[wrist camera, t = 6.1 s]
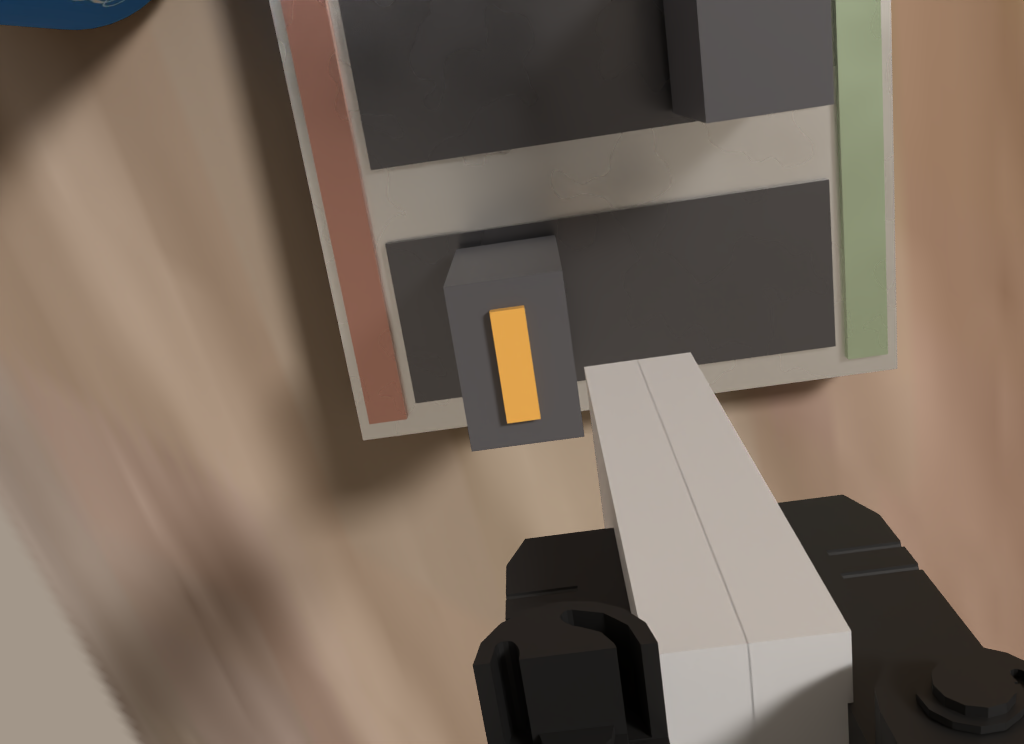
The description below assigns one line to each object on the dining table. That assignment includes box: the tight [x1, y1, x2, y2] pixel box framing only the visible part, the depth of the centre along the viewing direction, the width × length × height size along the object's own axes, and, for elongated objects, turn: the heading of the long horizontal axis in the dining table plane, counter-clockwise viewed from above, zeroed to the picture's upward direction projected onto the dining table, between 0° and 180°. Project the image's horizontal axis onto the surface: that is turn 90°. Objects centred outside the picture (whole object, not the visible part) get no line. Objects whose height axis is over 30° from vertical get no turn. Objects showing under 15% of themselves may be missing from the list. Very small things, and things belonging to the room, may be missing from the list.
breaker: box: [663, 0, 834, 123], centre depth 19 cm, size 4×2×4 cm, turn 8°
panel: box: [269, 0, 897, 440], centre depth 22 cm, size 18×14×2 cm
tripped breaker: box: [443, 235, 584, 451], centre depth 21 cm, size 4×2×4 cm, turn 8°
